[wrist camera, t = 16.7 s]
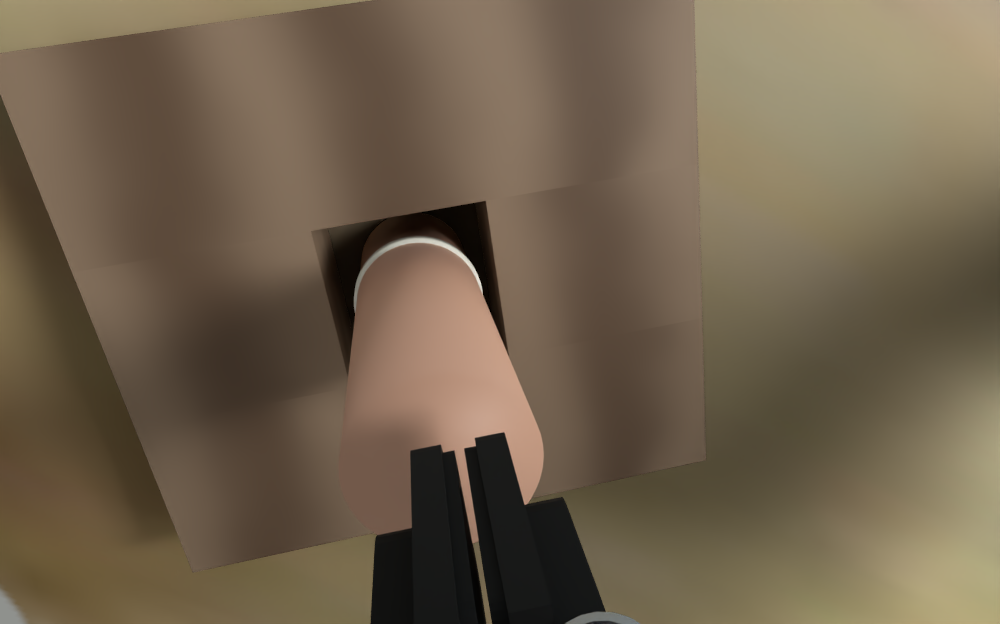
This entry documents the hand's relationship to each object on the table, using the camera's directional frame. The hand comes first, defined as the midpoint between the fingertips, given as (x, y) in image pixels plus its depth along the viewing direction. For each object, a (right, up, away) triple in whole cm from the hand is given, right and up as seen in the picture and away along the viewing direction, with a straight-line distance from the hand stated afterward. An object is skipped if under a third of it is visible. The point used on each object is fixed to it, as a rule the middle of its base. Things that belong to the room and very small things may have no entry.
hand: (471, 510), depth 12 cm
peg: (-3, +5, +14) cm, 15 cm away
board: (-3, +5, +14) cm, 15 cm away
